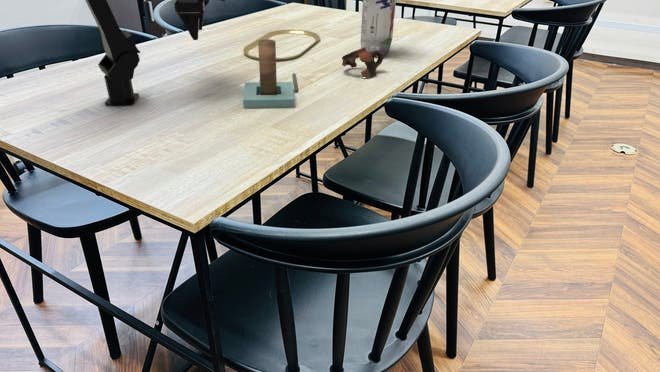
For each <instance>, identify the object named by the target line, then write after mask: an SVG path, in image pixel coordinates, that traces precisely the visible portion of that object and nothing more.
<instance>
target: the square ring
mask: <svg viewBox="0 0 660 372" xmlns="http://www.w3.org/2000/svg"><path fill="white" fill-rule="evenodd" d="M243 89H244V90H243V98H242V102H243V109H258V108H259V109H261V108H262V109H264V108H265V109H268V108H269V109H270V108H271V109H273V108H274V109H275V108H276V109H277V108H295V95H294V84H293V81H277V95H261V90H260V81H257V82H253V81H252V82H249V81H248V82H244V88H243Z"/></svg>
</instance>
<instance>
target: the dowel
mask: <svg viewBox="0 0 660 372" xmlns="http://www.w3.org/2000/svg"><path fill="white" fill-rule="evenodd" d="M257 47H258V57H259V60H258V63H259V64H258V65H259V69H258V70H259V82H260V90H261V94H260V95H278V94H277V82H278V80H277V78H278V77H277V61H276V58H277V55H276V54H277V53H276V40H274V39H271V38H269V39H264V40H260V41H258V46H257Z"/></svg>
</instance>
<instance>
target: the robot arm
mask: <svg viewBox="0 0 660 372" xmlns="http://www.w3.org/2000/svg"><path fill="white" fill-rule="evenodd" d="M84 1H85V3H86V4H87V7H88V9H89V11H90V13H91V15H92V17H93V19H94V20H95V23H96V26H97V27H98V29H99V31H100V35H101V40H102V41H101V42H102V45H103V46H102V47H103V49H104V52H105V54H104V56H103V57H102V59H101V60H100V61H99V63H97V65H98V68H99V69H100V70H101V72H102V73H103V74H104V77H103V78H104V83H105V87H106V91H107V95H108V98H107V99H106V101H105V102H104V106H132V105H133V106H134V105H135V102H136V101H137V99H138V97H140V95H139V93H137V92H135V93H134V86H133V82H132V80H133V78H134V73H135V69H136V68H137V67H138V66H139V63H140V60H141V59H140V55H139V54H141V51H140V49H138V47H137V45H136V42H135V38H134V36H133V35H132V34H131V33H130V32H128V31H127V30H125V29H124V30H123V31H122V30H121V28H120V26H119V24H118V22H117V19H116V17H115V15H114V14H113V12H112V9H111V7H110V4H109V3H108V1H107V0H84ZM210 1H211V0H176V1H175V2H174V11H175V13H177V15H178V16H179V18H180V20H181V21H182V23H183V25H184V26H185V28H186V29H187V32H188V33H189V35H190V36H191V38H192V40H193V41H198V39H199V32H200V31H202V30H203V25H204V15H205V12H206V10H205V9H206V8H205V7H207V5H208V4H209V3H210ZM220 1H221V2H226V0H220Z"/></svg>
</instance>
